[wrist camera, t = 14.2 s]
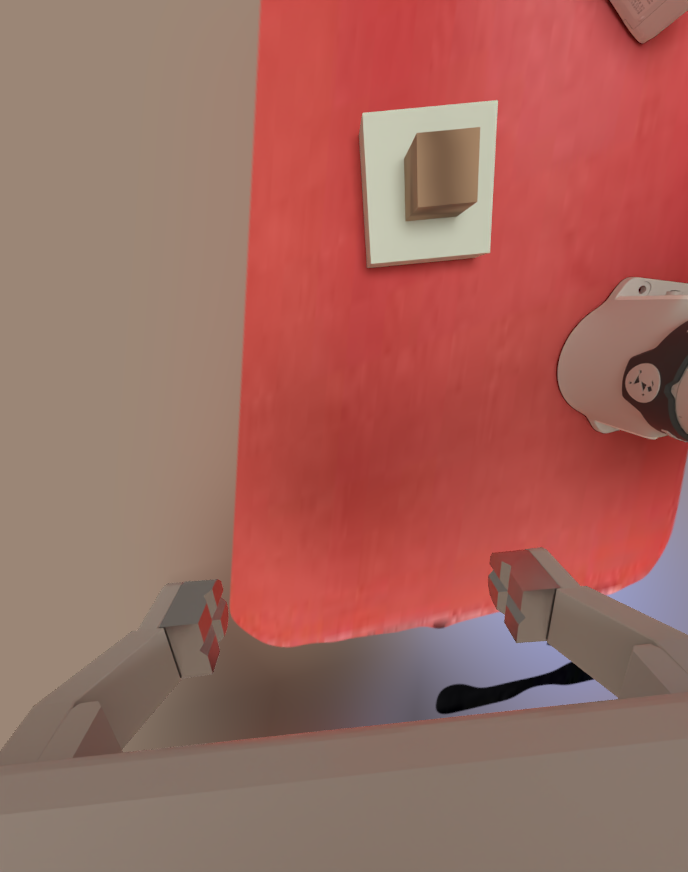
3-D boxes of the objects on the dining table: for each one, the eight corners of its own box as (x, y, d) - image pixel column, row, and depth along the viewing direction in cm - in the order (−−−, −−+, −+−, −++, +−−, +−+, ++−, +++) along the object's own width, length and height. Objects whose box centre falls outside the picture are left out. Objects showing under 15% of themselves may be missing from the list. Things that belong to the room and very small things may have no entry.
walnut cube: (458, 153, 32) (480, 126, 27) (456, 216, 33) (477, 201, 29) (403, 158, 32) (416, 132, 27) (405, 221, 33) (417, 207, 29)
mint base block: (479, 122, 34) (497, 100, 30) (474, 257, 38) (489, 252, 35) (358, 134, 34) (362, 113, 30) (367, 268, 38) (371, 263, 35)
